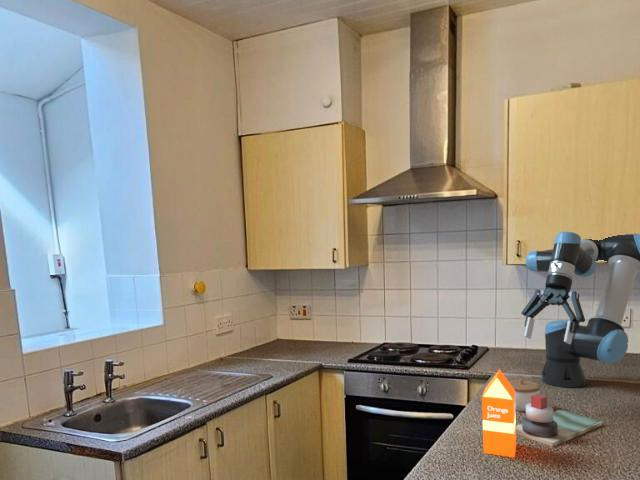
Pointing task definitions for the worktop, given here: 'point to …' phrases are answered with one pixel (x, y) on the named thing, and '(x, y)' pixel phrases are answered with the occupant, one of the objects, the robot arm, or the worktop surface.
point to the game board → (560, 436)
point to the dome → (539, 409)
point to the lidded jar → (523, 392)
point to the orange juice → (499, 417)
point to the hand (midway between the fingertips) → (546, 340)
